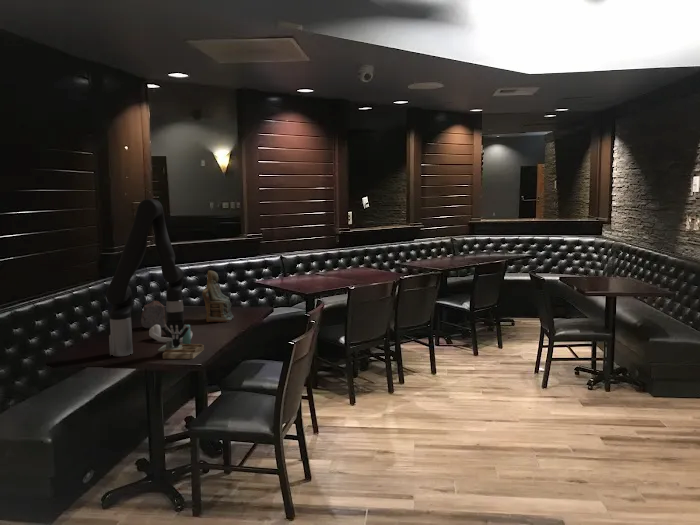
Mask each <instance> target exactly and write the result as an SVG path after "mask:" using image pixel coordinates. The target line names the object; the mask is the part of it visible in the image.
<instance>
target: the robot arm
mask: <svg viewBox="0 0 700 525" xmlns="http://www.w3.org/2000/svg"><path fill="white" fill-rule="evenodd" d="M132 224H133V225H132V227H131V230H130V232H129V234H128V237H127V240H126V241H125V244H124V247H123V250H122V253H121V254H120V255H121V256H120V257H119V258H120V259H119V261H118V264H117V266H116V270H115V273H114V275H113V277H112V279H111V282H110V283H109V285H108V287H107V289H106V292H105V298H106V301H107V303H109V304H110V305H112V306H111V311H110V312H109V327H110V334H109V335H108V341H109V343H108V344H109V356H111V355H113V357H126V356H130V354H131V355H132V354H133V353H134V347H133V330H132V329H133V328H132V327H133V326H132V311H133V292H132V288H131V286H130V285H129V284H130V282H131V279H132V277H133V275H134V274H135V273H136V271H137V270H138V269H139V267H140V265H141V264H142V261H143V259H144V256H145V254H146V251H147V247H148V236H149V235H148V234H149V231H150V228H151V227H152V231H153V235H154V247H155V250H156V253H157V256H158V258H159V260H160V267H161V272H162V278H163V279H164V280H165V281H166V282H167V283H168V287H167V289H166V294H165V295H166V303H165V304H166V306H165V307H166V308H165V311H166V323H165V325H166V326H164V327H163V328H161V331H163V332H164V333H165V335H166V336H167V338H172V339H173V346H174V347H178V346H179V345H180V344H181V342H180V338H182V337H183V336H184V335H185V334H186V332H187V331H188V330H189V328H190V329H191V326H190V327H189V326H188V327H187V326H186V325H187V324H186V322H185V317H184V316H185V315H184V314H185V313H184V308H185V307H184V302H183V284H184V272H183V270H182V269H181V268H180V267H179V266H176V262H175V260H176V253H175V251H174V248H173V245H172V242H171V239H170V236H169V233H168V229H167V224H166V219H165V212H164V207H163V205H162V203H161V202H160V201H159V200H157V199H155V198H146V199H143V200H141V201H140V203H139V204H138V205H137V209H136V213H135V217H134V221H133V223H132ZM183 327H184V328H183ZM168 328H169V329H170V331H171V332H170V331H169V330H168ZM182 328H183V330H184V331H183V332H181V330H182Z"/></svg>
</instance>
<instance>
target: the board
mask: <svg viewBox="0 0 700 525" xmlns="http://www.w3.org/2000/svg"><path fill="white" fill-rule="evenodd" d="M180 345H182V347H181V348H180V349H165V351H163V353H162V359H168V360H169V359H170V360H171V359H172V360H173V359H175V360H177V359H178V360H179V359H180V360H186V359H187V360H188V359H190V360H192V359H193V360H194V358H196V357H197V356H198V355H200V354H201V353H202V352H203V351H204V350H205V345H204V344H202V343H191V344H183V343H180Z"/></svg>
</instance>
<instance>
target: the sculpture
mask: <svg viewBox="0 0 700 525" xmlns="http://www.w3.org/2000/svg"><path fill="white" fill-rule="evenodd" d="M218 281H219V275H218V272H216V271H214V270H207V282H206V283H207V284H206V287H205V288H204V289H203V290H202V297H203V301H204V304H205V306H204V309H205V310H206V317H205V319H206V323H207V322H227V321H231V320H232V318H233V319H234V318H235V316H234V315H233V313H232V310H231V309H232V307H231V305H232V304H231V300H230V297H229V296H228V295H225V294H223V292H222V290H221V288H220V286H219V284H218ZM232 321H233V320H232ZM232 321H231V322H232ZM227 323H228V322H227Z"/></svg>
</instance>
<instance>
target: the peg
mask: <svg viewBox="0 0 700 525" xmlns="http://www.w3.org/2000/svg"><path fill="white" fill-rule="evenodd" d="M185 325H186V326H187V327H188V326H189V327H190V328H189V330H188V331H187V332H186V334H185V335H184V336H183V342H182V344H192V341H191V340H192V338H191V334H190V331H191V324H185ZM183 328H184V327H183ZM183 328H182V332H183V331H184V330H183ZM182 332H181V333H182Z"/></svg>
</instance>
